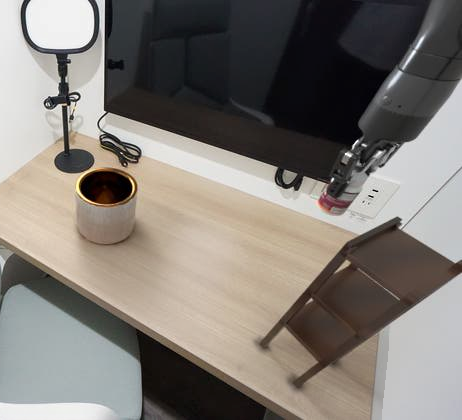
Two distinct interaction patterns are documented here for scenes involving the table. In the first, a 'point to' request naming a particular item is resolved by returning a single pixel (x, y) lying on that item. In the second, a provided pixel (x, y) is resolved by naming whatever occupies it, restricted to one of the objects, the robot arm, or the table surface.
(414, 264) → the rack
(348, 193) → the pill bottle
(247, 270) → the table surface
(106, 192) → the planter
